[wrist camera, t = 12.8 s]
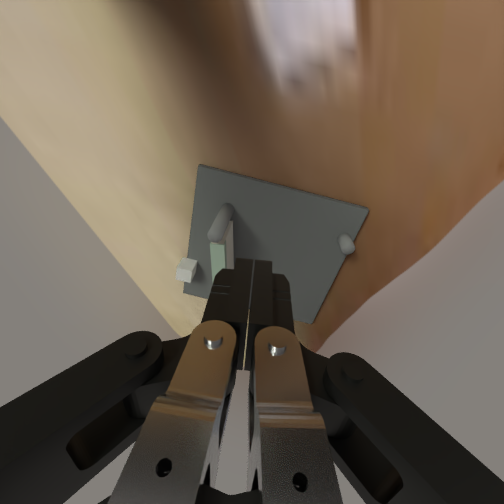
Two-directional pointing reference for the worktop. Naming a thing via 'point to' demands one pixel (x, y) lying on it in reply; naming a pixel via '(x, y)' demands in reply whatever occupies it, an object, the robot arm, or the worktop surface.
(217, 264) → the gate
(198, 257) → the gate frame
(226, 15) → the worktop surface
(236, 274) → the robot arm
